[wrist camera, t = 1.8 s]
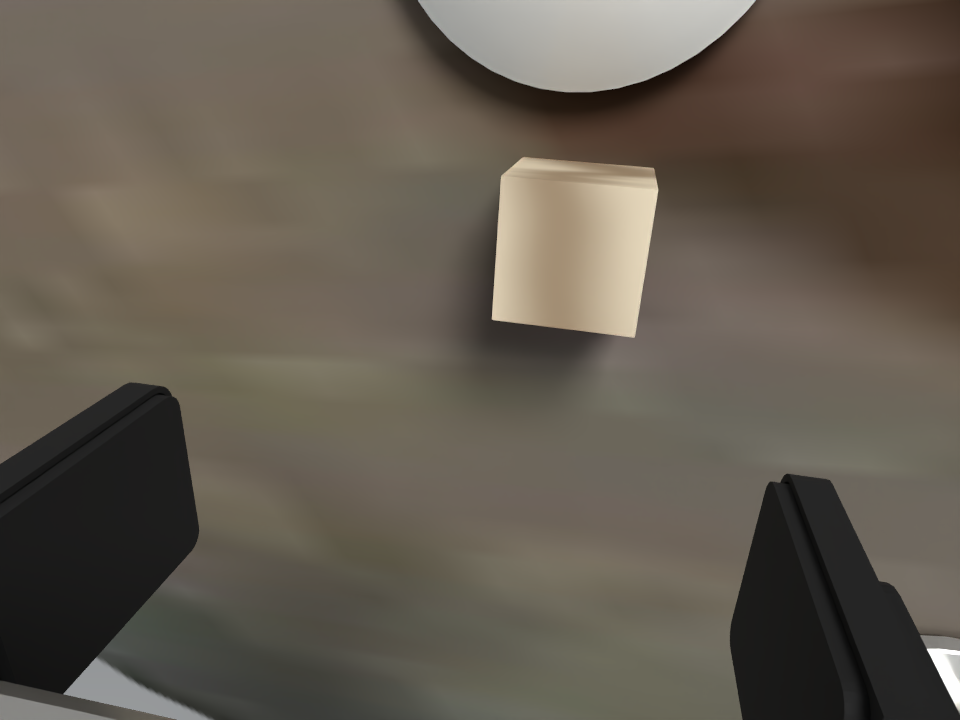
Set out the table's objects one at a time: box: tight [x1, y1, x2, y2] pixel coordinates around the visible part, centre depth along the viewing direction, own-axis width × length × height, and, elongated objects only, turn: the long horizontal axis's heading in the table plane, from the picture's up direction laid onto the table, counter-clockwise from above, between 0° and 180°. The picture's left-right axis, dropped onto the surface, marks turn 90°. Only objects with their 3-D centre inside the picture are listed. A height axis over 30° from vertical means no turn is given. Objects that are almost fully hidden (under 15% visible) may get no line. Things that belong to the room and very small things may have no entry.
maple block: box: [492, 157, 658, 338], centre depth 25 cm, size 5×5×5 cm
